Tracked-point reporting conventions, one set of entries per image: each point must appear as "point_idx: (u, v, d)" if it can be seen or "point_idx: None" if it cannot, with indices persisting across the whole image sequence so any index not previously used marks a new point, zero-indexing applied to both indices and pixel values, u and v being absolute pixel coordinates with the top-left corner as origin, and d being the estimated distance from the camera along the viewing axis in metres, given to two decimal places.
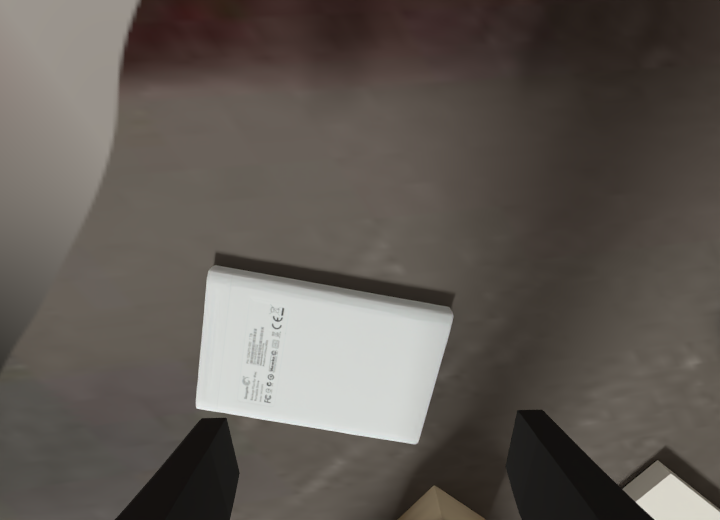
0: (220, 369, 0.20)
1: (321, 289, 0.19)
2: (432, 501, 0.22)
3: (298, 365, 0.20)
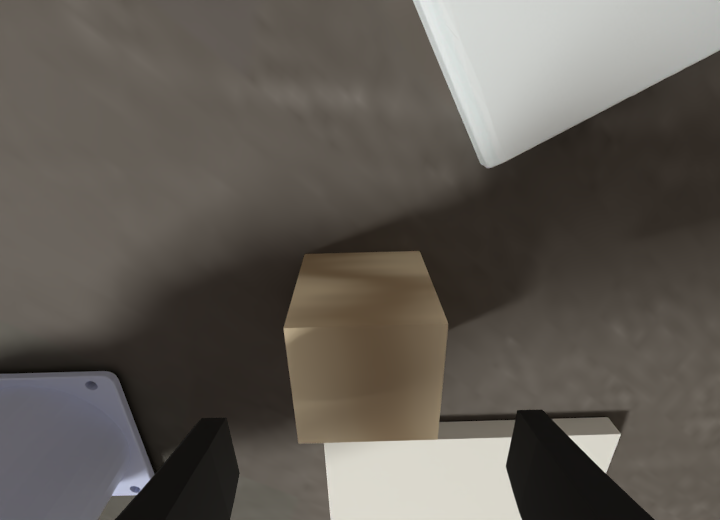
0: None
1: None
2: (412, 260, 0.14)
3: None
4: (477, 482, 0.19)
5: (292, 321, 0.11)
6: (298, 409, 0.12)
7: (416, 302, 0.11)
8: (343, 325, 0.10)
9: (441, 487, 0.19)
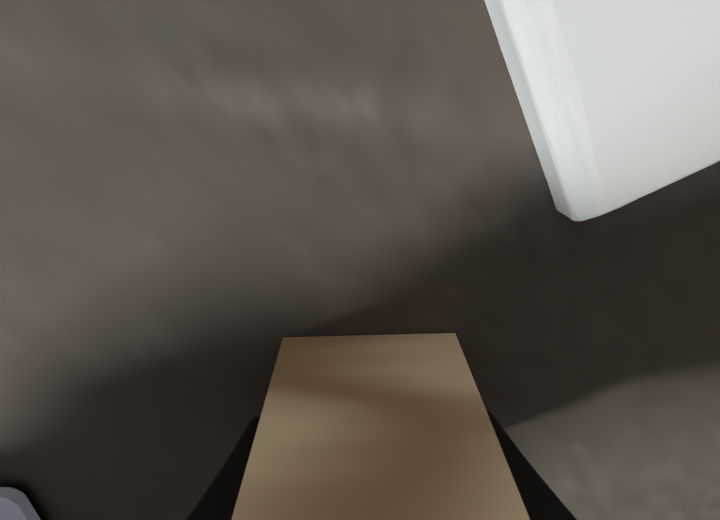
0: None
1: None
2: (447, 356, 0.09)
3: None
4: None
5: None
6: None
7: (467, 471, 0.06)
8: None
9: None
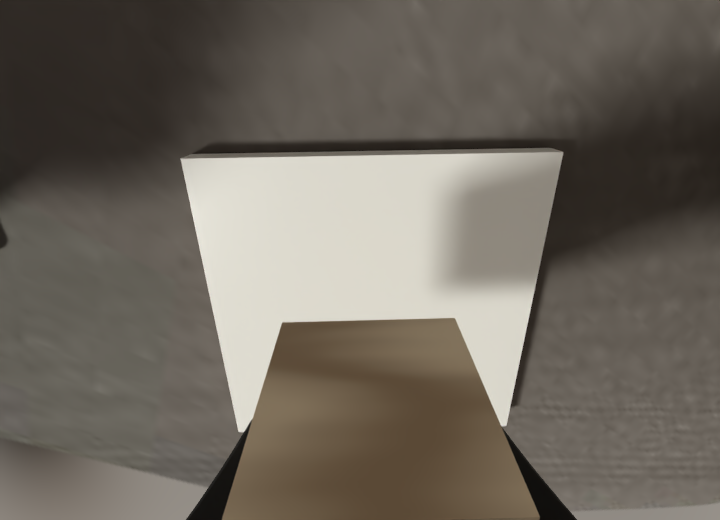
0: None
1: None
2: (447, 339, 0.09)
3: None
4: (386, 235, 0.15)
5: (240, 503, 0.06)
6: None
7: (467, 447, 0.06)
8: (336, 517, 0.05)
9: (341, 244, 0.15)
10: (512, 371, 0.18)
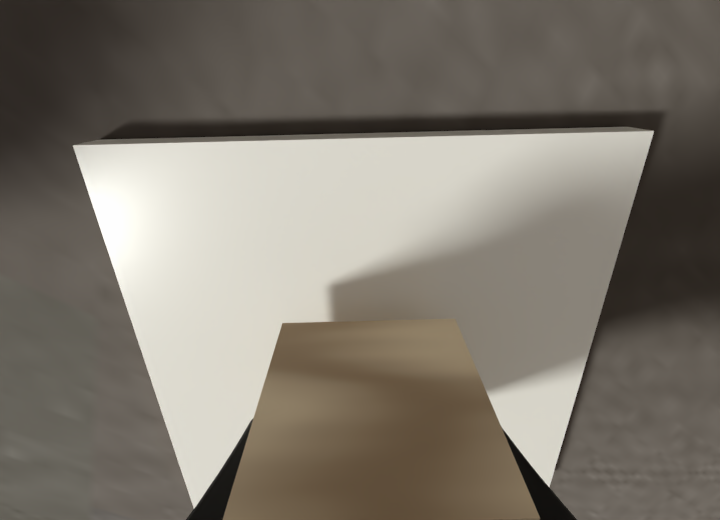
0: None
1: None
2: (447, 340, 0.09)
3: None
4: (386, 257, 0.10)
5: (240, 504, 0.06)
6: None
7: (467, 448, 0.06)
8: (336, 518, 0.05)
9: (321, 269, 0.11)
10: (557, 435, 0.14)
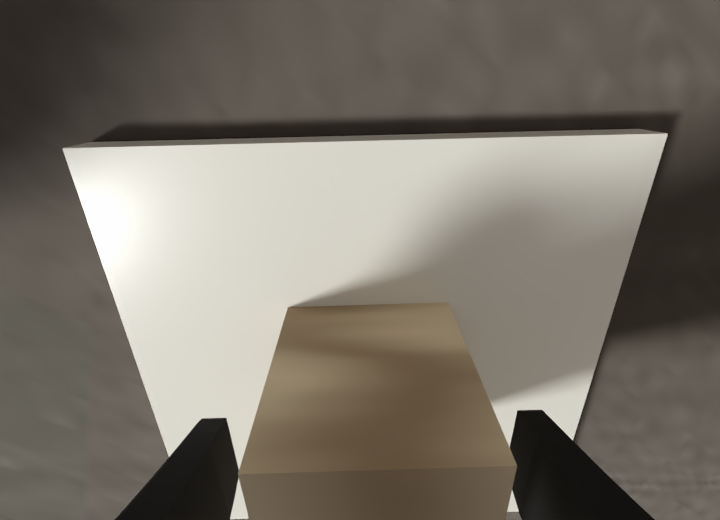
0: None
1: None
2: (440, 321, 0.10)
3: None
4: (388, 263, 0.10)
5: (254, 456, 0.06)
6: None
7: (456, 411, 0.07)
8: (339, 467, 0.06)
9: (321, 276, 0.10)
10: None
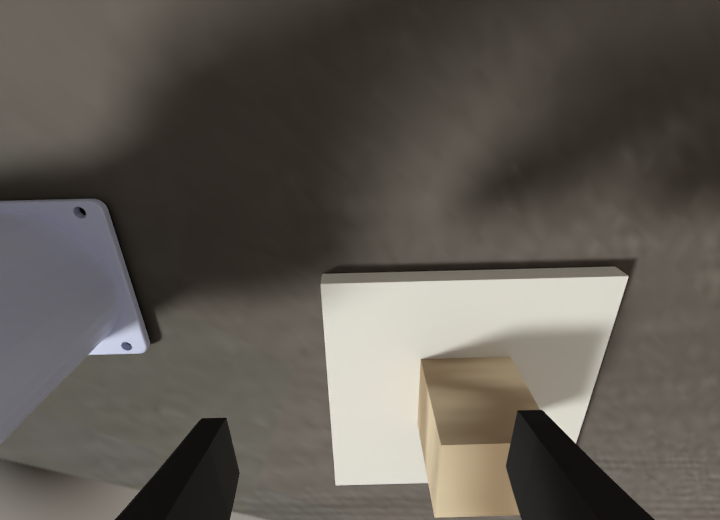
0: None
1: None
2: (508, 369, 0.18)
3: None
4: (479, 336, 0.18)
5: (444, 438, 0.15)
6: (439, 495, 0.16)
7: None
8: (483, 442, 0.15)
9: (441, 343, 0.19)
10: (573, 437, 0.22)
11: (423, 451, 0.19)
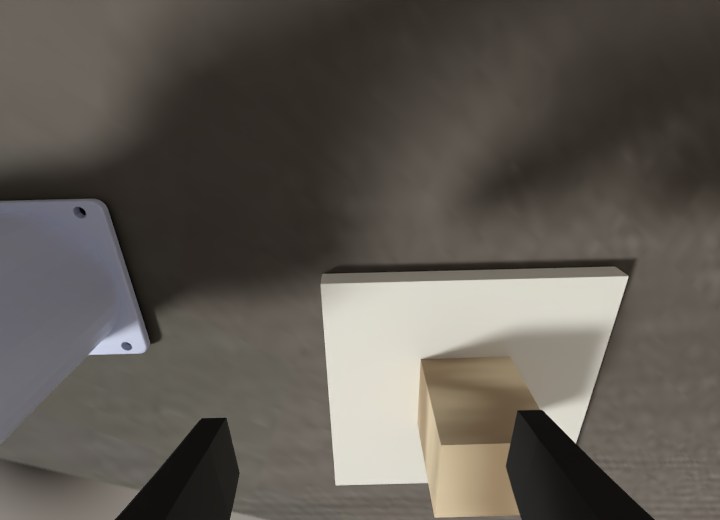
0: None
1: None
2: (508, 369, 0.18)
3: None
4: (479, 336, 0.18)
5: (444, 438, 0.15)
6: (439, 495, 0.16)
7: None
8: (483, 442, 0.15)
9: (441, 343, 0.19)
10: (573, 437, 0.22)
11: (423, 451, 0.19)
